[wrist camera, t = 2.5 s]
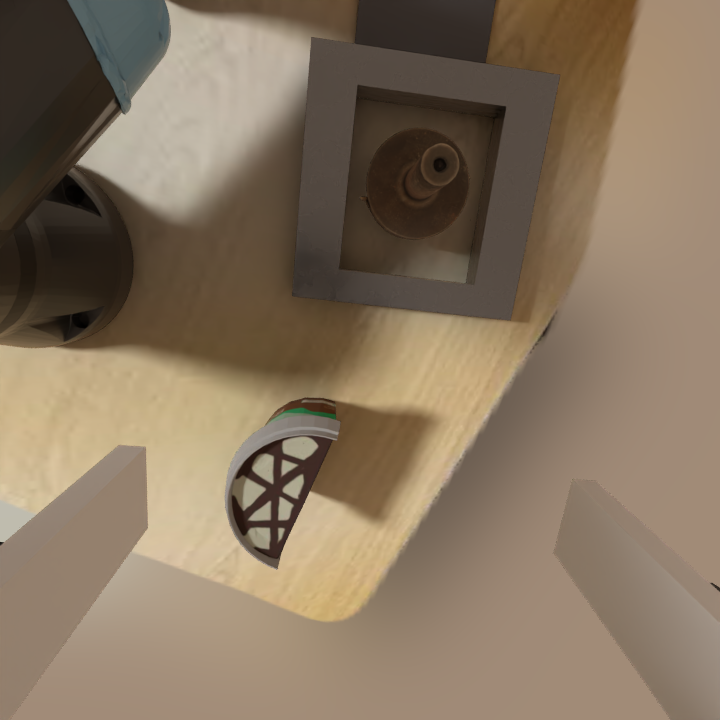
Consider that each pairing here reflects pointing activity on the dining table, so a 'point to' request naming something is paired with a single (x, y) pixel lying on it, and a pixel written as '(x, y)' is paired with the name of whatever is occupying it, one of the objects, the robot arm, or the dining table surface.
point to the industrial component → (417, 183)
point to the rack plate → (500, 186)
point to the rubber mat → (428, 27)
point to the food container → (278, 475)
